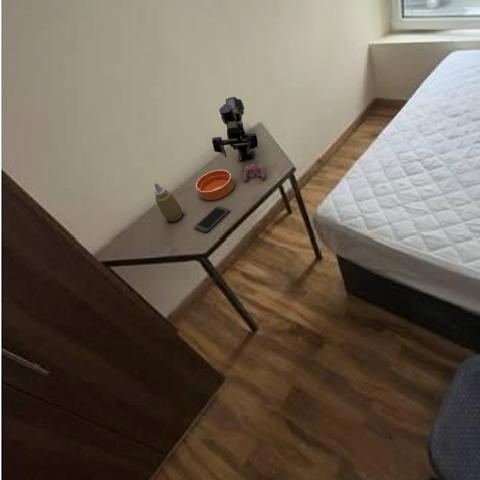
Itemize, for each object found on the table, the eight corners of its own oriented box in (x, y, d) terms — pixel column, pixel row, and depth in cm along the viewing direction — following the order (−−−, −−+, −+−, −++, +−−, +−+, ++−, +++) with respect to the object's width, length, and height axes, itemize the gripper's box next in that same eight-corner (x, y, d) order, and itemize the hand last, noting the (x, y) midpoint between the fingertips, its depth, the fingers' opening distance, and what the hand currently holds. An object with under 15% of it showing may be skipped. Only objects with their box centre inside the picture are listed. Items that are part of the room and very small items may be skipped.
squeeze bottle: (168, 226, 166) (147, 192, 153) (164, 216, 171) (144, 183, 159) (186, 218, 168) (167, 184, 155) (182, 208, 173) (163, 175, 161)
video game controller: (267, 177, 180) (265, 162, 178) (264, 179, 176) (261, 163, 174) (247, 180, 182) (244, 164, 180) (243, 181, 178) (240, 166, 176)
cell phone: (194, 228, 161) (193, 226, 161) (217, 207, 169) (217, 205, 168) (206, 233, 158) (206, 231, 157) (230, 211, 165) (229, 209, 165)
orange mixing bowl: (201, 183, 185) (197, 175, 181) (234, 175, 184) (230, 166, 181) (199, 204, 173) (194, 195, 170) (234, 195, 173) (230, 186, 169)
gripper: (208, 118, 166) (210, 142, 157) (253, 114, 169) (257, 137, 160) (213, 139, 175) (215, 163, 166) (256, 135, 178) (260, 158, 169)
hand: (237, 155), depth 165 cm, fingers open, 9 cm apart
